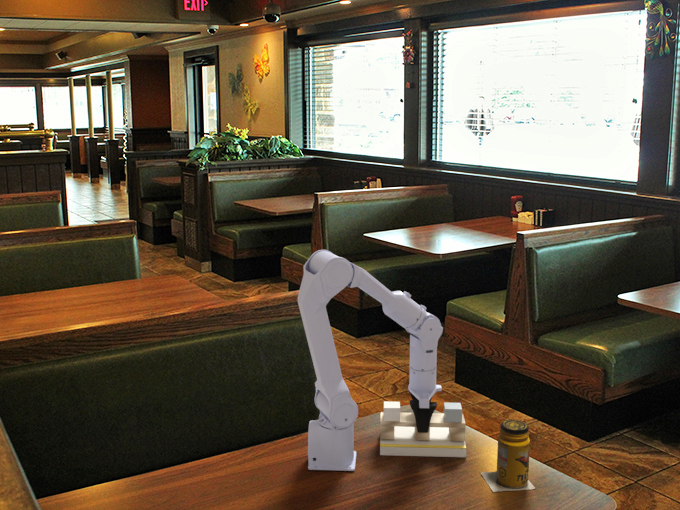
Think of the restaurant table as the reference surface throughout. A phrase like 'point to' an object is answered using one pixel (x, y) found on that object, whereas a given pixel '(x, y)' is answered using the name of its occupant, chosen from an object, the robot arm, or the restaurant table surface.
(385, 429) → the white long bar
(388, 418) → the block
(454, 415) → the light grey square block
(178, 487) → the restaurant table surface
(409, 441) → the dock
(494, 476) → the condiment
